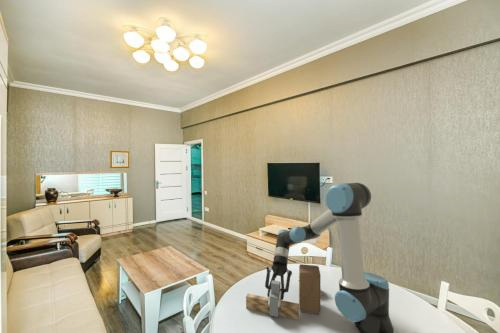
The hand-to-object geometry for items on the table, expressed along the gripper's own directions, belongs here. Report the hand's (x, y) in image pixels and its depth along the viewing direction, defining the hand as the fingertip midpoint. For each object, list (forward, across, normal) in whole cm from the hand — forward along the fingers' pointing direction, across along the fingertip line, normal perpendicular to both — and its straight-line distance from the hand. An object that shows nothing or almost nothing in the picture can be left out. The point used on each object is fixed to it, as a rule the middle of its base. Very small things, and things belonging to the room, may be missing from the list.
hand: (274, 305), depth 108 cm
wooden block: (-5, -15, -14) cm, 21 cm away
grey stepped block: (+1, 0, -6) cm, 6 cm away
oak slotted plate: (+1, +2, -7) cm, 7 cm away
